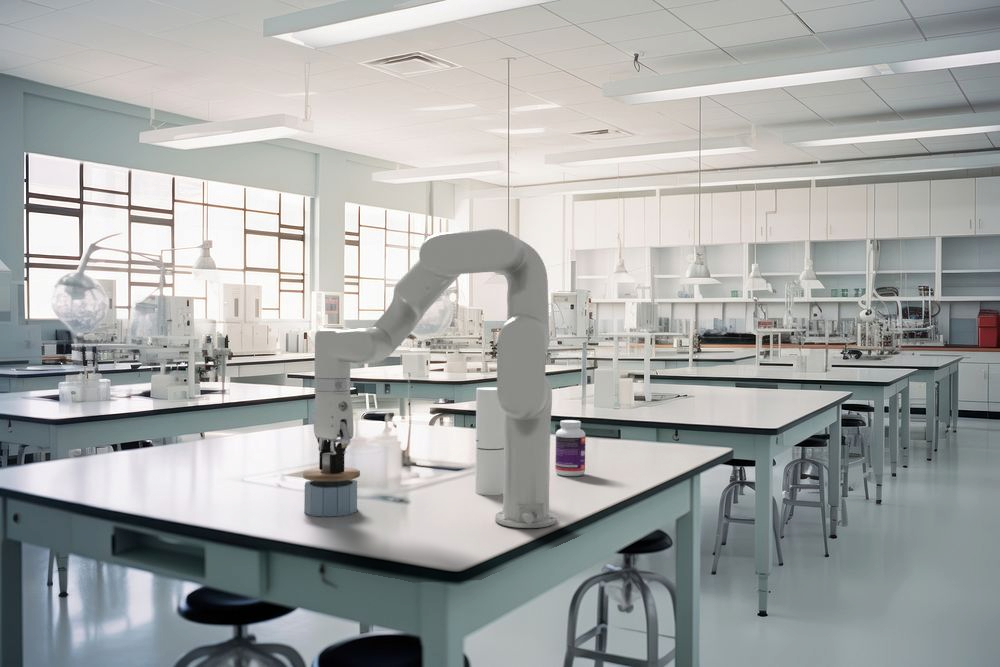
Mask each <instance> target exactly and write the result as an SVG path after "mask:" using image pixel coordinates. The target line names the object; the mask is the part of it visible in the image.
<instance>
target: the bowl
mask: <svg viewBox="0 0 1000 667" xmlns="http://www.w3.org/2000/svg"><path fill="white" fill-rule="evenodd" d="M303 507H304V512H303V513H304V514H306V515H309V516H310V517H311V516H312V517H319V516H321V518H326V517H325V516H329V517H330V516H337V517H343V516H342V515H344V516H349V515H352V514H354V512H355V513H357V511H358V480H356V479H351V480H344V481H312V480H308V481H305V483H304V506H303ZM329 517H328V518H329Z"/></svg>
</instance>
